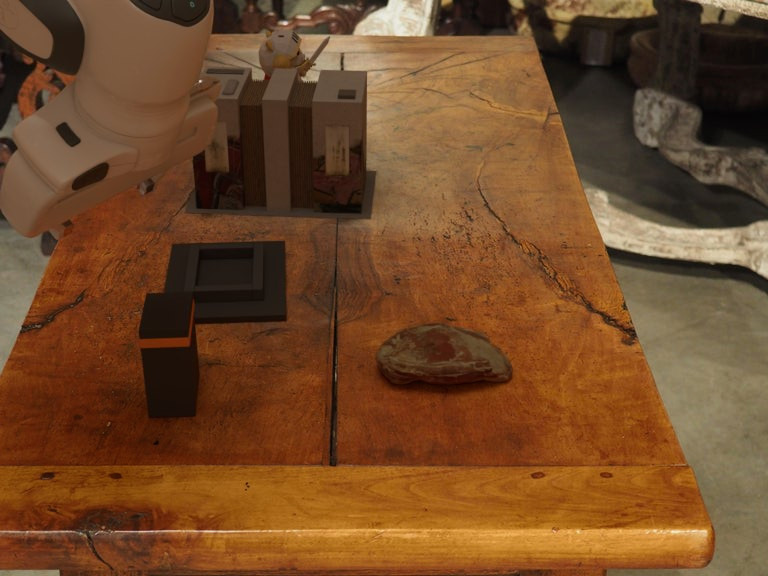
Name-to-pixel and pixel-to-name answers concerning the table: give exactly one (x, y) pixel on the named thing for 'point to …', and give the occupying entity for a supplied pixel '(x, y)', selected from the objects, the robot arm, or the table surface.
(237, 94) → the bookend
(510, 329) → the table surface
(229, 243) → the base pad
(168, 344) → the black orange striped block
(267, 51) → the figurine
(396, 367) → the stone
